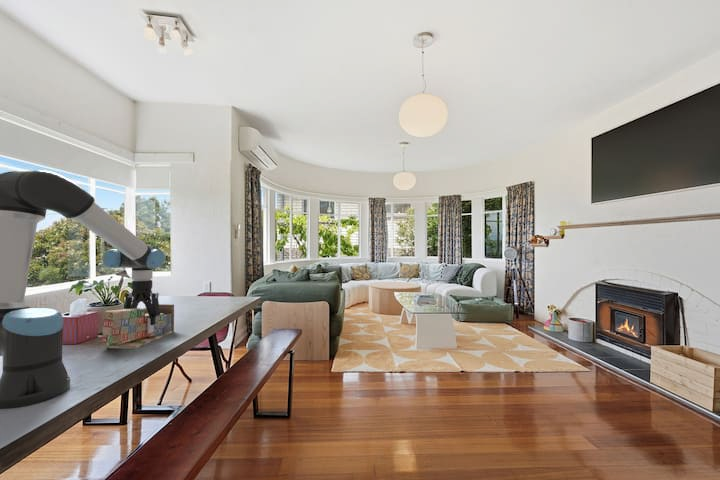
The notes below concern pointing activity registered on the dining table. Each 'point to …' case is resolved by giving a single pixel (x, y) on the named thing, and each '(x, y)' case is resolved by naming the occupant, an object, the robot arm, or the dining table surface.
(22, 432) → the dining table surface
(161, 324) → the stack of blocks
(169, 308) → the alphabet block box
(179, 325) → the dining table surface
